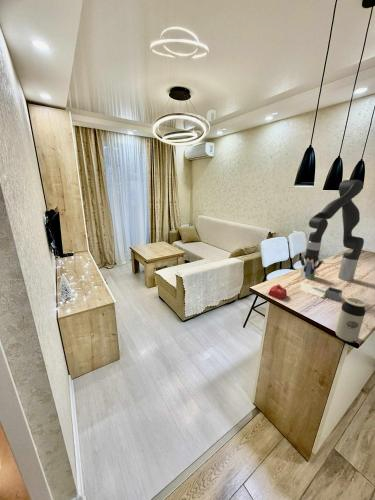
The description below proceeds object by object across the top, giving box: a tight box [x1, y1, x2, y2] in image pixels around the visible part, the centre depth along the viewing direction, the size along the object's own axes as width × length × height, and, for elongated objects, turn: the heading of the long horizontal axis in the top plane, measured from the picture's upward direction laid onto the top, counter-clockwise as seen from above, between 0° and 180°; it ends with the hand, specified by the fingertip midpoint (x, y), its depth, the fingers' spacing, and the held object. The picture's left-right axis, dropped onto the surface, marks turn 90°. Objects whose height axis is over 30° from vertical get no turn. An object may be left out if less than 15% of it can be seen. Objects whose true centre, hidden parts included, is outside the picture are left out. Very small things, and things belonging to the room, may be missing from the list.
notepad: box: [299, 281, 327, 300], centre depth 138 cm, size 14×18×1 cm
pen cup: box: [325, 286, 343, 302], centre depth 129 cm, size 7×7×5 cm
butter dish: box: [267, 284, 287, 300], centre depth 128 cm, size 12×12×8 cm
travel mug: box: [335, 296, 367, 343], centre depth 92 cm, size 8×8×18 cm
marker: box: [305, 260, 312, 279], centre depth 140 cm, size 4×4×13 cm
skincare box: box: [299, 258, 318, 279], centre depth 158 cm, size 8×7×16 cm
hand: (308, 272), depth 141 cm, fingers closed on marker, 3 cm apart
